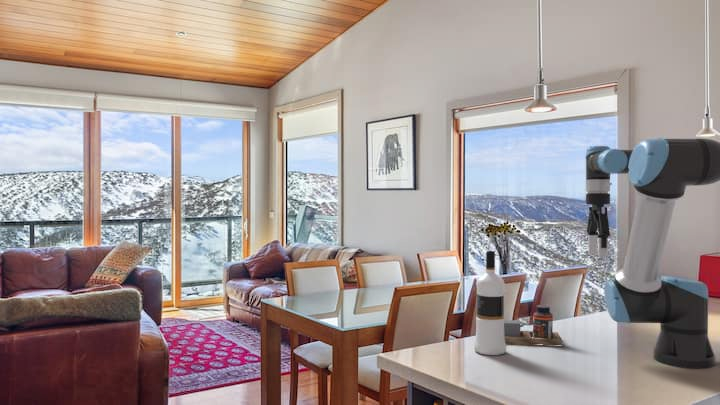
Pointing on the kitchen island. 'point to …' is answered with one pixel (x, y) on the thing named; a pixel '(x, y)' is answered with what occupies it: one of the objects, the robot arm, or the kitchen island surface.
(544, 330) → the supplement bottle
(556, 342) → the brown wooden frame
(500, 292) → the vodka
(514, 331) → the block
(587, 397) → the kitchen island surface
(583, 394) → the kitchen island surface
